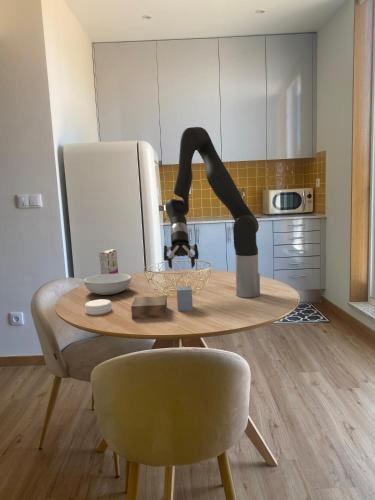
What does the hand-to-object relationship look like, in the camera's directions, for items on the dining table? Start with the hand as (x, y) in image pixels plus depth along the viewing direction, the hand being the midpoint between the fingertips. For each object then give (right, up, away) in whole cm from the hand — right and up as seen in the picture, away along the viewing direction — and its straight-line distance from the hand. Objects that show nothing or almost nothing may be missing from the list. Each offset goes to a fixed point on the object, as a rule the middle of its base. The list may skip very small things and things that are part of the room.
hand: (181, 267), depth 156 cm
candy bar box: (-37, -10, +41) cm, 56 cm away
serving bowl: (-34, -13, +21) cm, 42 cm away
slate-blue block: (+1, -15, -9) cm, 18 cm away
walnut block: (-12, -17, -12) cm, 24 cm away
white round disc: (-32, -17, -6) cm, 37 cm away
